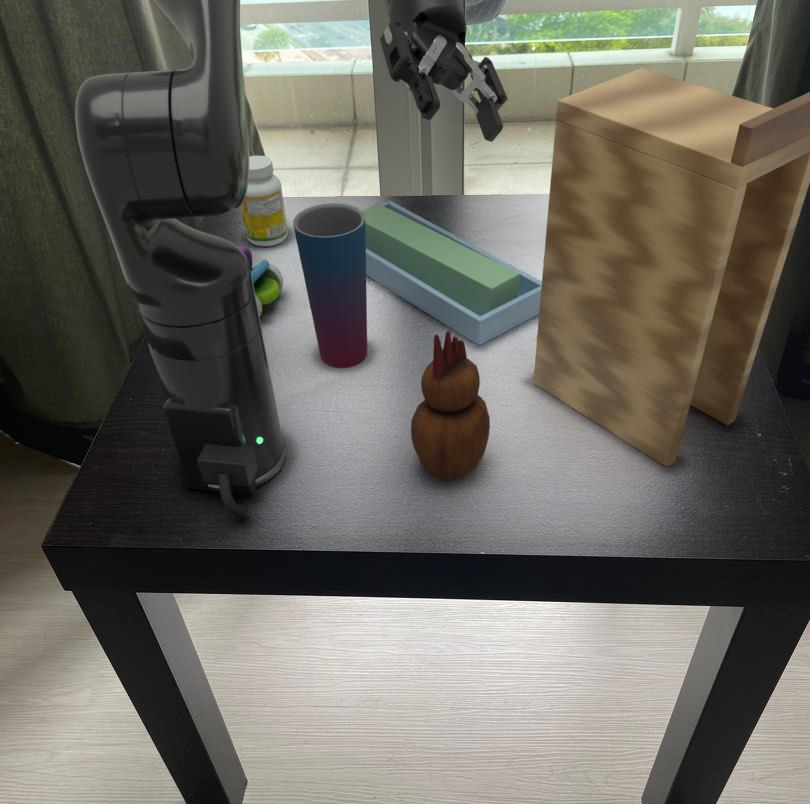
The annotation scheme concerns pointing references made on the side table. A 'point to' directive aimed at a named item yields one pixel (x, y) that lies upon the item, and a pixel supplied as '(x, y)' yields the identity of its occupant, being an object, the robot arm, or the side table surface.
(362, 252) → the cup
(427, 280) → the long sage green bar
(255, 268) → the multicolored plastic toy
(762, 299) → the stand
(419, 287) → the tray
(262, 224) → the supplement bottle
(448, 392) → the wooden figurine
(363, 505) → the side table surface
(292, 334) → the side table surface
